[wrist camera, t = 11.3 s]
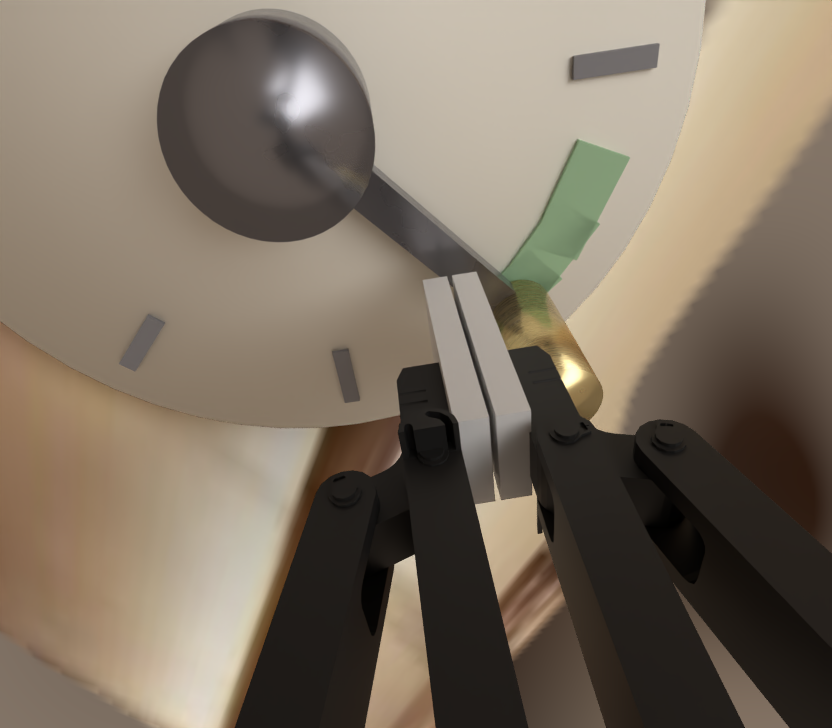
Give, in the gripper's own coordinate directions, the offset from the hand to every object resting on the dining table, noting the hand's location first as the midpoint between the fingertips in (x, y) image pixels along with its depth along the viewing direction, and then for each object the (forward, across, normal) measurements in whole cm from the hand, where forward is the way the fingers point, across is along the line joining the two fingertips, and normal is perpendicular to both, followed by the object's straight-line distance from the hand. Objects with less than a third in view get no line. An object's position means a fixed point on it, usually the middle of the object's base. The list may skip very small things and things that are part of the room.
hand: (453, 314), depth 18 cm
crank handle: (+2, -1, +3) cm, 4 cm away
